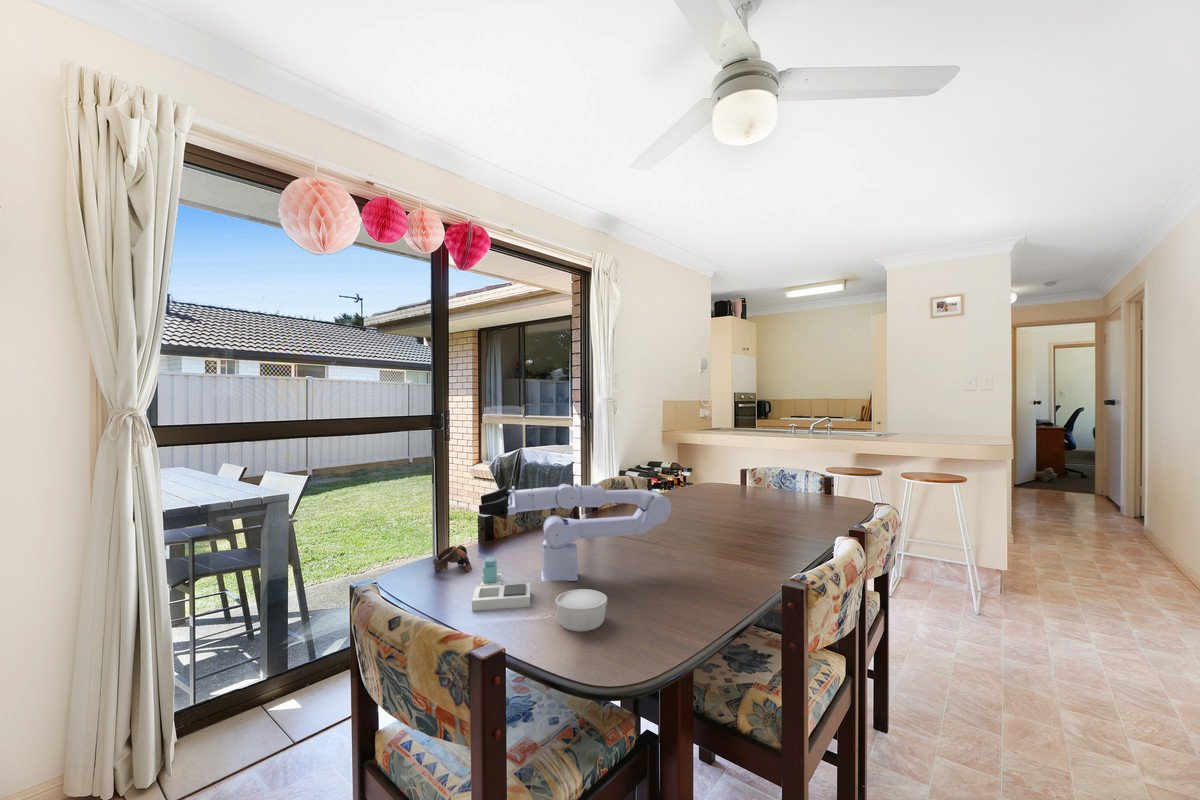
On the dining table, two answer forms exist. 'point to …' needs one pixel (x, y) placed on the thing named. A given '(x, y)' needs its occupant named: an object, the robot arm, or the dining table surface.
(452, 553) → the brown jagged curved sculpture
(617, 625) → the dining table surface
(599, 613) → the ramekin
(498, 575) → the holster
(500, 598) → the panel
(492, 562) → the plug
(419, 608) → the dining table surface
